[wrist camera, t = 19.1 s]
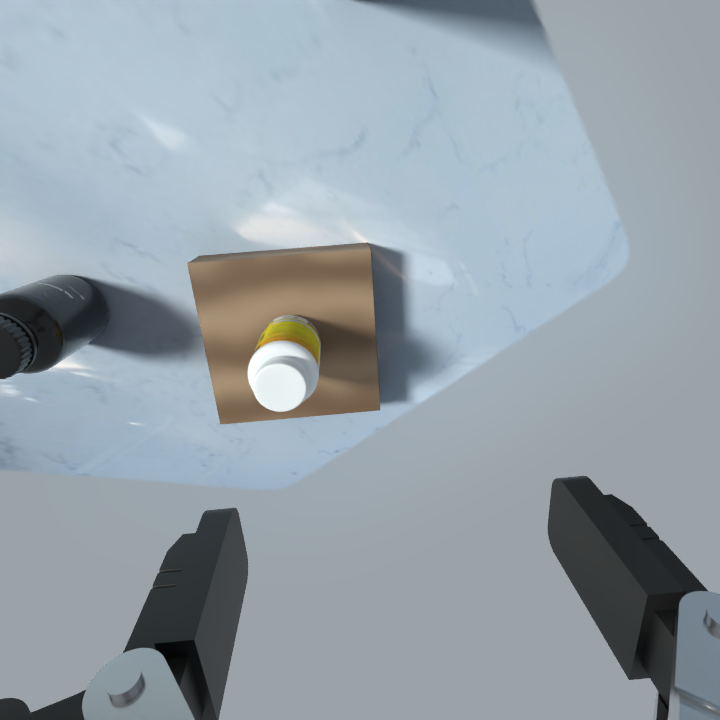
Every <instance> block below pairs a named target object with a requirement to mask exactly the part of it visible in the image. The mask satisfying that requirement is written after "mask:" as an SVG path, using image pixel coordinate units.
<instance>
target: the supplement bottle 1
mask: <svg viewBox="0 0 720 720" xmlns="http://www.w3.org/2000/svg"><path fill="white" fill-rule="evenodd" d="M107 317H108V314H107V307H106V304H105V301H104V299H103V298H102V296H101V294H100V293H99V292H98V291H97V290H96V289H95V288H94V287H93V286H92V285H91V284H89V283H88V282H86V281H85V280H83V279H80V278H78V277H75V276H70V275H57V276H53V277H49V278H46V279H43V280H40V281H37V282H34V283H31V284H28V285H25V286H23V287H20V288H17V289H14V290H11V291H8V292H5V293H2V294H0V379H6V378H8V377H12V376H13V375H15V374H17V373H25V374H31V373H38V372H42V371H45V370H47V369H49V368H51V367H53V366H54V365H56V364H57V363H59V362H60V361H62V360H63V359H65V358H66V357H68V356H70V355H71V354H73V353H74V352H76V351H77V350H79V349H80V348H82V347H83V346H85V345H86V344H88V343H89V342H91V341H92V340H94V339H95V338H96V337H98V336H99V335H100V334H101V333H102V331H103V330H104V328H105V326H106V323H107Z"/></svg>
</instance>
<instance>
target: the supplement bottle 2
mask: <svg viewBox="0 0 720 720" xmlns="http://www.w3.org/2000/svg"><path fill="white" fill-rule="evenodd" d="M320 348H321V343H320V337H319V334H318V332H317V330H316V329H315V327H314V326H313V325H312V324H311V323H310V322H309V321H307V320H306V319H304V318H302V317H299V316H294V315H286V316H281V317H278V318H276V319H274V320H272V321H271V322H270V323H269V324H268V325H267V326H266V327H265V329H264V331H263V332H262V335H261V337H260V339H259V341H258V344H257V346H256V349H255V351H254V353H253V355H252V358H251V360H250V363H249V366H248V380H249V384H250V386H251V388H252V390H253V391H254V394H255V397H256V399H257V400H258V401H259V403H260V404H261V405H263V406H264V407H266V408H267V409H270V410H272V411H277V412H285V411H289V410H292V409H294V408H296V407H297V406H299V405H300V404H301V403H302V402H303V401H305V400H306V399H308V398H309V397H310V396H311V394H312V393H313V392H314V390H315V388H316V386H317V383H318V379H319V366H320Z"/></svg>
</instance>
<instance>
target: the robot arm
mask: <svg viewBox="0 0 720 720" xmlns="http://www.w3.org/2000/svg"><path fill="white" fill-rule="evenodd" d="M548 535H549V540H550V544H551V547H552V549H553V552H554V553H555V555H556V557H557V558H558V560H559V562H560V564H561V565H562V567H563V568H564V570H565V572H566V574H567V575H568V577H569V579H570V581H571V582H572V584H573V586H574V587H575V589H576V591H577V592H578V594H579V596H580V598H581V599H582V601H583V603H584V604H585V606H586V607H587V609H588V611H589V613H590V614H591V616H592V618H593V620H594V621H595V623H596V625H597V626H598V628H599V630H600V631H601V633H602V635H603V636H604V638H605V640H606V641H607V643H608V645H609V647H610V648H611V650H612V652H613V653H614V655H615V657H616V658H617V660H618V662H619V663H620V665H621V667H622V669H623V670H624V672H625V674H626V675H627V677H628V679H629V680H633V679H643V678H651V680H652V682H653V683H654V685H655V686H656V688H657V694H656V699H655V708H654V719H653V720H720V594H717V593H713V592H709V591H708V590H707V589H706V588H705V587H704V586H703V585H702V584H701V583H700V582H699V580H697V578H696V577H695V576H694V575H693V574H692V573H691V572H690V571H689V570H688V568H687V567H686V566H685V565H684V564H683V563H682V562H681V561H680V559H679V558H678V557H677V556H676V555H675V554H674V553H673V552H672V551H671V550H670V549H669V547H668V546H667V545H666V544H665V543H664V542H663V541H661V540H659V536H658V535H657V534H656V533H655V532H654V531H653V530H652V529H651V527H648V526H647V523H646V522H645V521H644V520H643V519H642V518H641V516H640V515H639V514H638V513H637V512H636V511H635V510H634V509H633V508H632V507H631V506H629V505H628V504H626V503H625V502H623V501H621V500H620V499H618V498H616V497H615V496H613V495H612V494H610V495H603V494H602V492H601V491H600V490H599V489H598V488H597V487H596V485H595V484H594V483H593V482H592V481H591V480H590V479H589V478H588V477H587V476H578V477H568V478H558V479H557V478H556V479H555V480H554V481H553V483H552V489H551V499H550V510H549V519H548ZM247 576H248V558H247V552H246V547H245V542H244V537H243V533H242V528H241V523H240V518H239V513H238V511H237V509H236V508H228V509H218V510H207V511H205V512H204V513H203V515H202V518H201V521H200V523H199V526H198V528H197V531H196V533H191V534H183V535H182V536H181V537H180V538H179V539H178V540H177V541H176V543H175V544H174V545H173V546H172V547H171V548H170V549H169V550H168V551H167V554H166V556H165V558H164V560H163V563H162V565H161V567H160V572H159V573H158V574H157V576H156V579H155V581H154V584H153V589H151V590H150V593H149V595H148V597H147V600H146V602H145V604H144V606H143V609H142V611H141V613H140V616H139V618H138V620H137V623H136V625H135V627H134V629H133V632H132V634H131V637H130V639H129V641H128V643H127V646H126V648H125V650H124V652H123V653H122V654H121V655H119V656H117V657H115V658H114V659H112V660H111V661H109V662H108V663H107V664H106V665H105V666H103V667H102V669H100V670H99V672H98V673H97V674H96V675H95V676H94V678H93V679H92V680H91V682H90V683H89V685H88V687H87V689H86V690H84V691H82V692H81V693H78V694H76V695H74V696H71V697H69V698H67V699H64V700H61V701H59V702H56V703H54V704H52V705H49V706H47V707H44V708H42V709H39V710H37V711H34V712H32V713H31V712H30V710H29V708H28V707H27V705H26V704H25V703H24V702H23V701H21V700H19V699H15V698H5V699H0V720H218V719H219V714H220V710H221V705H222V700H223V695H224V690H225V685H226V681H227V676H228V671H229V666H230V661H231V656H232V652H233V647H234V642H235V636H236V632H237V627H238V623H239V618H240V613H241V608H242V603H243V598H244V594H245V589H246V583H247Z"/></svg>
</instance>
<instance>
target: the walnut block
mask: <svg viewBox="0 0 720 720" xmlns="http://www.w3.org/2000/svg"><path fill="white" fill-rule="evenodd" d="M187 264H188V269H189V274H190V279H191V284H192V289H193V293H194V298H195V303H196V308H197V313H198V318H199V322H200V327H201V332H202V337H203V342H204V347H205V352H206V356H207V361H208V366H209V371H210V376H211V381H212V385H213V390H214V395H215V400H216V405H217V410H218V415H219V419H220V424H231V423H242V422H253V421H264V420H276V419H287V418H298V417H309V416H320V415H332V414H343V413H354V412H365V411H376V410H380V397H379V380H378V364H377V347H376V330H375V314H374V297H373V280H372V264H371V249H370V247H369V245H368V243H357V244H344V245H332V246H319V247H306V248H294V249H281V250H268V251H256V252H243V253H230V254H218V255H205V256H198V257H197V258H195V259H194V260H192V261H190V262H189V263H187ZM286 315H294V316H299V317H302V318H304V319H306V320H307V321H309V322H310V323H311V324H312V325H313V326H314V327H315V329H316V330H317V332H318V334H319V337H320V343H321V348H320V366H319V379H318V383H317V386H316V388H315V390H314V392H313V393H312V394H311V396H310V397H309V398H308V399H306V400H305V401H303V402H302V403H301V404H300V405H299V406H297V407H296V408H294V409H292V410H289V411H285V412H277V411H272V410H270V409H267V408H266V407H264V406H263V405H261V404H260V403H259V401H258V400H257V399H256V397H255V394H254V391H253V390H252V388H251V386H250V384H249V380H248V366H249V363H250V360H251V358H252V355H253V353H254V351H255V349H256V346H257V344H258V341H259V339H260V337H261V335H262V332H263V331H264V329H265V327H266V326H267V325H268V324H269V323H270V322H271V321H272V320H274V319H276V318H278V317H281V316H286Z"/></svg>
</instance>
